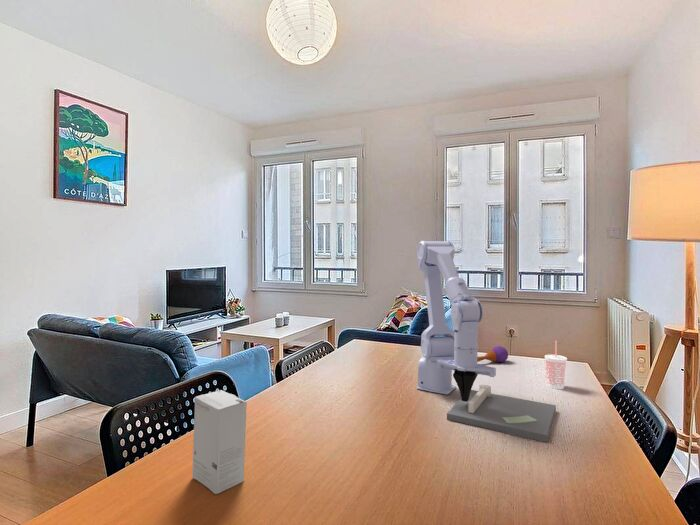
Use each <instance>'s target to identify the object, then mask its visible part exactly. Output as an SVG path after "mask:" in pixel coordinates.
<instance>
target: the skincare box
mask: <svg viewBox="0 0 700 525" xmlns="http://www.w3.org/2000/svg"><path fill="white" fill-rule="evenodd" d="M247 403H248V402H247V401H246V400H244V399H242V398H240V397H239V396H236V395H235V394H232V393H229V392H226V391H225V390H222V389H220V390H217V391H212V392H208V393H205V394H200V395H197V396H194V417H193V418H194V419H193V420H194V421H193V441H192V442H193V446H192V469H191V470H192V472H191V477H192V479H194V480H195V481H198V482H199V483H200V484H202V485H203V486H204V487H206V488H207V489H209V490H210V492H212V493H213V494H215V495H218V494H220V493H222V492H224V491H227V490H228V489H231V488H233V487H235V486H237V485H239V484H241V483H244V482H245V478H244V477H245V458H246V457H245V456H246V454H245V452H246V427H247Z"/></svg>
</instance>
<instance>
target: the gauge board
mask: <svg viewBox="0 0 700 525" xmlns="http://www.w3.org/2000/svg"><path fill="white" fill-rule="evenodd" d="M478 391H479V390H473V389H471V391H470V396H469V400H468V401H467V402H466V401H462V400H461V398H460V399H459V400H458V401H457V402H456V403H455V404H454V405H453V406H452V407H451V409H449V411H447V413H446V420H447V421H452V422H456V423H461V424H466V425H470V426H473V427H477V428H478V427H479V428H483V429H486V430H487V429H488V430H491V431H496V432H500V433H505V434H510V435H512V436H513V435H514V436H517V437H518V436H519V437H523V438H526V439H530V440H535V441H540V442H544V443H545V442H546V443H547V442H548V439H549V435H550V432H551V429H552V425H553V422H554V418H555V415H556V412H557V406H556V405H557V404H552V403H546V402H541V401H535V400H529V399H524V398H517V397H513V396H508V395H502V394H495V393H491V397H486V398H485V399H484V401H483V402H482V403H481V404H480V406H479V407H478V408H477V409H476V411H475V412H474V413H470V412H468V408H469V401H470V400H471V399H472V398H473V397H474V396H475V395H476V394H477V392H478Z"/></svg>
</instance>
